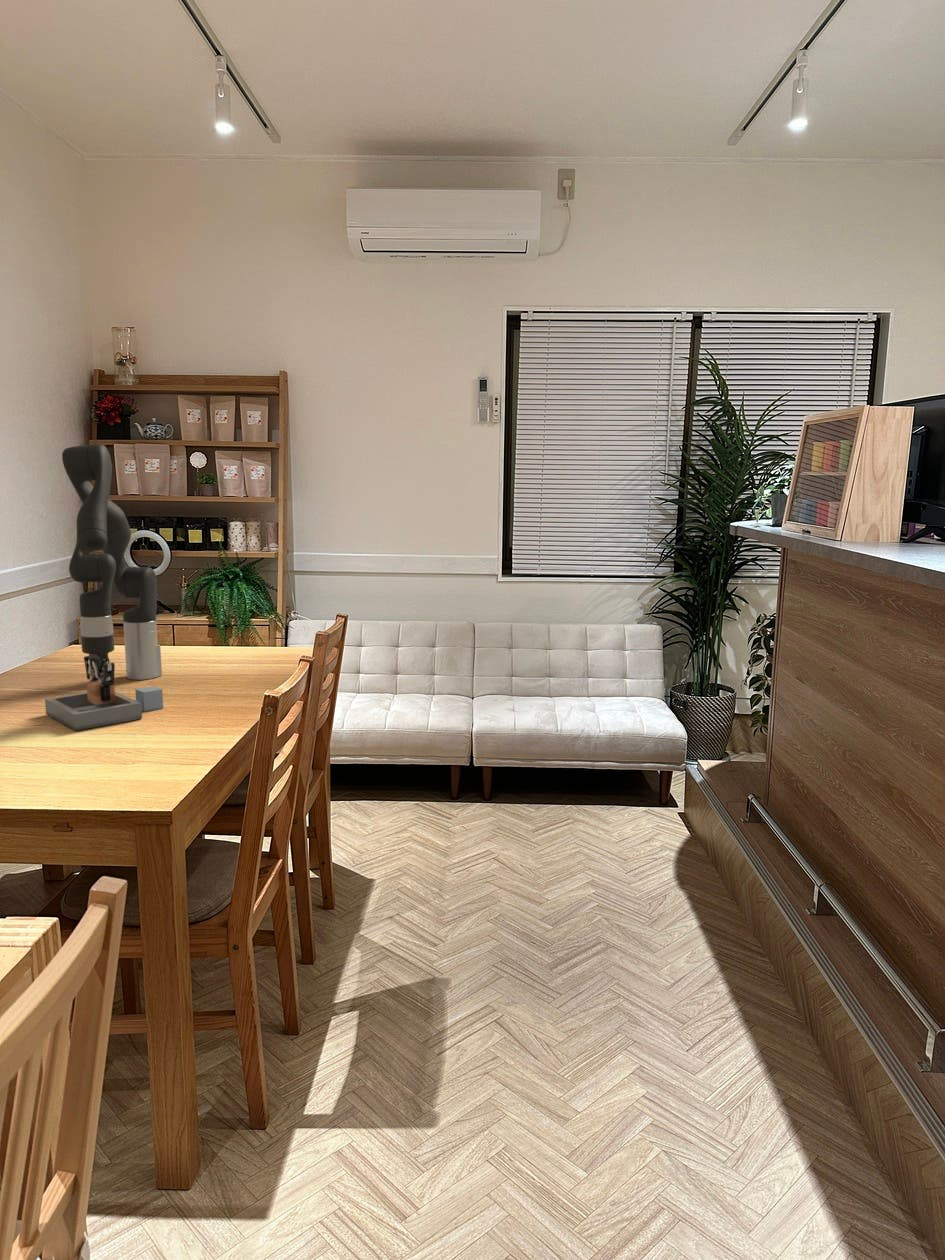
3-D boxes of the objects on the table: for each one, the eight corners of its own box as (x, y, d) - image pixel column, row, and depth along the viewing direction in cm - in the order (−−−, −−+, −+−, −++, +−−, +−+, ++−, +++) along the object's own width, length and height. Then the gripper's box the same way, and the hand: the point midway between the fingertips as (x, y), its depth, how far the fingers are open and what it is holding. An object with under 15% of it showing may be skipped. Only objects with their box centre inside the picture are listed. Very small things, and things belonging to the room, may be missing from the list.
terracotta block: (107, 697, 221) (106, 679, 220) (115, 701, 218) (114, 682, 217) (87, 701, 218) (86, 682, 217) (95, 704, 214) (94, 685, 213)
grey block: (154, 704, 227) (153, 685, 226) (163, 707, 224) (162, 689, 223) (136, 707, 224) (135, 689, 223) (144, 711, 220) (143, 692, 219)
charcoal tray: (109, 703, 227) (108, 688, 227) (142, 718, 213) (141, 702, 213) (46, 714, 216) (44, 698, 216) (75, 730, 202) (74, 714, 202)
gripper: (123, 635, 212) (127, 701, 215) (101, 627, 222) (105, 691, 225) (93, 638, 207) (97, 707, 210) (71, 631, 217) (75, 696, 220)
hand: (101, 698), depth 218 cm, fingers closed on terracotta block, 5 cm apart
